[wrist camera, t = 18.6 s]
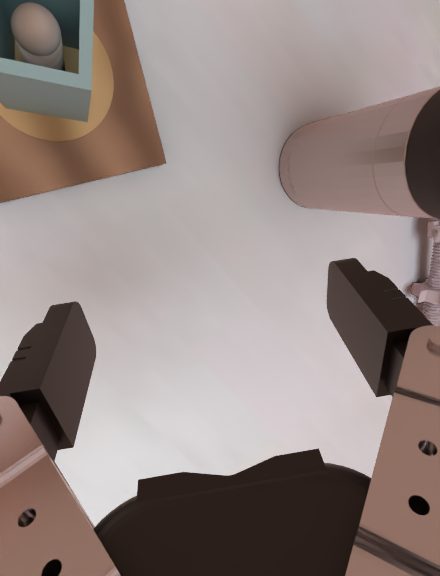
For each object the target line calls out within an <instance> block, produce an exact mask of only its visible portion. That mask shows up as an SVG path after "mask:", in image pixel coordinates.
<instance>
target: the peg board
mask: <svg viewBox="0 0 440 576" xmlns="http://www.w3.org/2000/svg"><path fill="white" fill-rule="evenodd" d="M11 29H12V33H13V35H14V38H15V61H19V62H24V63H29V64H33V65H38V66H43V67H47V68H52V69H57V70H61V71H66V72H71V73H76V74H79V49H74V48H70V47H66V46H62V37H61V30H60V27H59V24H58V22H57V20H56V18H55V17H54V16H53V14H52V13H51V12H50V11H49V10H48V9H46V8H45V7H43V6H42V5H40V4H37V3H32V2H27V3H23V4H21V5H19V6H18V7H17V8H16V9H15V10H14V12H13V14H12V17H11ZM165 163H166V160H165V156H164V152H163V148H162V144H161V141H160V137H159V133H158V129H157V125H156V121H155V118H154V114H153V110H152V106H151V102H150V98H149V95H148V91H147V87H146V83H145V79H144V75H143V72H142V68H141V64H140V60H139V56H138V52H137V49H136V45H135V41H134V37H133V33H132V29H131V26H130V22H129V18H128V14H127V10H126V7H125V3H124V0H94V17H93V57H92V92H91V99H90V107H89V115H88V122H83V121H77V120H72V119H66V118H60V117H54V116H48V115H42V114H36V113H30V112H25V111H19V110H13V109H7V108H5V107H4V106H3V105H2V104H1V102H0V203H2V202H6V201H10V200H14V199H19V198H23V197H27V196H31V195H35V194H40V193H44V192H48V191H52V190H57V189H61V188H65V187H69V186H73V185H78V184H82V183H86V182H90V181H94V180H99V179H103V178H107V177H111V176H116V175H120V174H124V173H128V172H132V171H137V170H141V169H145V168H149V167H153V166H158V165H162V164H165Z"/></svg>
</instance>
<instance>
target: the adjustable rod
mask: <svg viewBox="0 0 440 576" xmlns="http://www.w3.org/2000/svg"><path fill="white" fill-rule="evenodd" d="M427 237H433V240H434V243H433V244H434V245H433V247H434V248H433V251H434V252H432V253H433V255H432V257H433V258H431V260H433V261H431V263H432V264H431V265H430V266H432V267H430V269H431V270H430V272H431V273H429V275H430V276H429V279H427V278H426V280H425V282H423V283H413V285H412V288H411V294H413V295H415V296H417V297H419V300H418V303H420V302H424V301H425V302H426V304H425V306H426V307H425V310H424V311H425V312H424V314H425V315H424V316H425V317H426V318H427V319H428V320H429V321H430V322H431V323H432V324H433V325H434V326H440V219H438V220H434V221H430V222H428V230H427Z"/></svg>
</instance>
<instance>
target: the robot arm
mask: <svg viewBox="0 0 440 576" xmlns="http://www.w3.org/2000/svg"><path fill="white" fill-rule="evenodd" d="M279 170H280V178H281V182H282V186H283V188H284V190H285V192H286V193H287V195H288V196H289V197H290V199H291V200H293V201H294V202H295V203H296V204H298V205H300V206H302V207H306V208H313V209H325V210H335V211H347V212H359V213H372V214H384V215H396V216H409V217H423V218H435V219H440V87H436V88H433V89H429V90H426V91H422V92H419V93H416V94H412V95H409V96H405V97H402V98H398V99H395V100H391V101H388V102H384V103H381V104H377V105H374V106H370V107H366V108H363V109H359V110H356V111H352V112H349V113H345V114H342V115H338V116H335V117H331V118H327V119H324V120H320V121H317V122H313V123H309V124H306V125H304V126H302V127H300V128H298V129H297V130H296V131H295V132H294V133H293V134H292V135H291V136H290V137H289V139H288V140H287V142H286V144H285V146H284V148H283V150H282V154H281V157H280V165H279ZM327 309H328V313H329V317H330V319H331V321H332V323H333V324H334V326H335V328H336V329H337V331H338V333H339V335H340V336H341V338H342V340H343V341H344V343H345V345H346V346H347V348H348V350H349V351H350V353H351V355H352V357H353V358H354V360H355V362H356V363H357V365H358V367H359V368H360V370H361V372H362V374H363V375H364V377H365V379H366V380H367V382H368V384H369V385H370V387H371V389H372V390H373V392H374V394H375V396H376V397H380V396H386V395H392V397H393V398H392V402H391V406H390V410H389V414H388V418H387V421H386V425H385V429H384V433H383V437H382V440H381V444H380V448H379V452H378V456H377V459H376V463H375V467H374V471H373V475H372V478H370V477H368V476H366V475H365V474H362V473H360V472H358V471H355V470H353V469H350V468H347V467H344V466H340V465H335V464H330V463H324V462H323V459H322V456H321V454H320V451H319V449H314V450H308V451H302V452H297V453H291V454H285V455H279V456H274V457H272V458H270V459H268V460H265V461H263V462H261V463H259V464H257V465H254V466H252V467H250V468H248V469H246V470H243V471H241V472H239V473H237V474H234V475H230V476H223V475H211V474H199V473H188V472H181V473H175V474H169V475H164V476H158V477H152V478H146V479H140V480H138V492H137V496H135V497H133V498H131V499H129V500H127V501H126V502H124V503H122V504H121V505H119V506H118V507H117V508H115V509H114V510H113V511H111V512H110V513H109V514H108V515H107V516H106V517H104V518H103V519H102V520H101V521H100V522H99V523H98V524H97V526H96V527H95V526H94V525H93V523H92V522H91V520H90V518H89V517H88V515H87V514H86V512H85V510H84V509H83V507H82V505H81V504H80V502H79V501H78V499H77V497H76V496H75V494H74V492H73V491H72V489H71V488H70V486H69V484H68V483H67V481H66V479H65V478H64V476H63V474H62V473H61V471H60V470H59V468H58V466H57V465H56V463H55V462H54V461H55V457H56V454H57V450H60V449H66V448H72V447H74V443H75V439H76V435H77V431H78V427H79V423H80V419H81V415H82V411H83V407H84V403H85V399H86V395H87V391H88V387H89V382H90V378H91V374H92V370H93V366H94V362H95V358H96V345H95V341H94V338H93V335H92V333H91V330H90V328H89V325H88V323H87V320H86V318H85V315H84V313H83V310H82V308H81V306H80V304H79V303H78V302H70V303H64V304H58V305H52V306H51V307H50V308H49V310H48V312H47V315H46V317H45V319H44V321H43V323H39V324H36V325H35V326H34V327H33V328H32V329H31V330H30V331H29V332H28V333H27V334H26V335H25V336H24V337H23V339H22V341H21V343H20V345H19V347H18V351H16V353H15V355H14V356H13V358H12V360H13V361H12V362H10V364H9V366H8V368H7V370H6V372H5V374H4V376H3V378H2V380H1V382H0V576H440V326H434V325H433V324H432V323H431V322H430V321H429V320H428V319H427V318H426V317H425V316H424V315H423V314H422V313H421V312H420V311H419V310H418V309H417V308H416V306H415V305H414V304H413V303H412V302H411V301H410V300H409V299H408V298H406V297H405V295H404V294H403V293H402V292H401V291H400V290H398V288H397V287H396V285H395V284H394V283H393V282H392V281H391V280H390V279H389V278H387V277H385V276H384V275H382V274H380V273H378V272H376V271H367V270H366V269H365V268H364V267H363V266H362V265H361V263H360V262H359V261H358V260H357V259H356V258H351V259H345V260H338V261H332V262H330V264H329V269H328V288H327Z"/></svg>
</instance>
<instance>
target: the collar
mask: <svg viewBox="0 0 440 576" xmlns="http://www.w3.org/2000/svg"><path fill="white" fill-rule="evenodd" d="M27 2H32V3H37V4H40V5H42V6H43V7H45V8H46V9H48V10H49V11H50V12H51V13H52V14H53V16H54V17H55V18H56V20H57V22H58V24H59V27H60V30H61V37H62V46H66V47H70V48H74V49H79V74H76V73H71V72H66V71H61V70H57V69H52V68H47V67H43V66H38V65H33V64H29V63H24V62H19V61H15V38H14V35H13V33H12V29H11V17H12V14H13V12H14V10H15V9H16V8H17V7H18V6H19V5H21V4H23V3H27ZM93 17H94V0H0V102H1V104H2V105H3V106H4V107H5V108H7V109H13V110H19V111H25V112H30V113H36V114H42V115H48V116H54V117H60V118H66V119H72V120H77V121H83V122H88V115H89V107H90V99H91V92H92V57H93Z"/></svg>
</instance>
